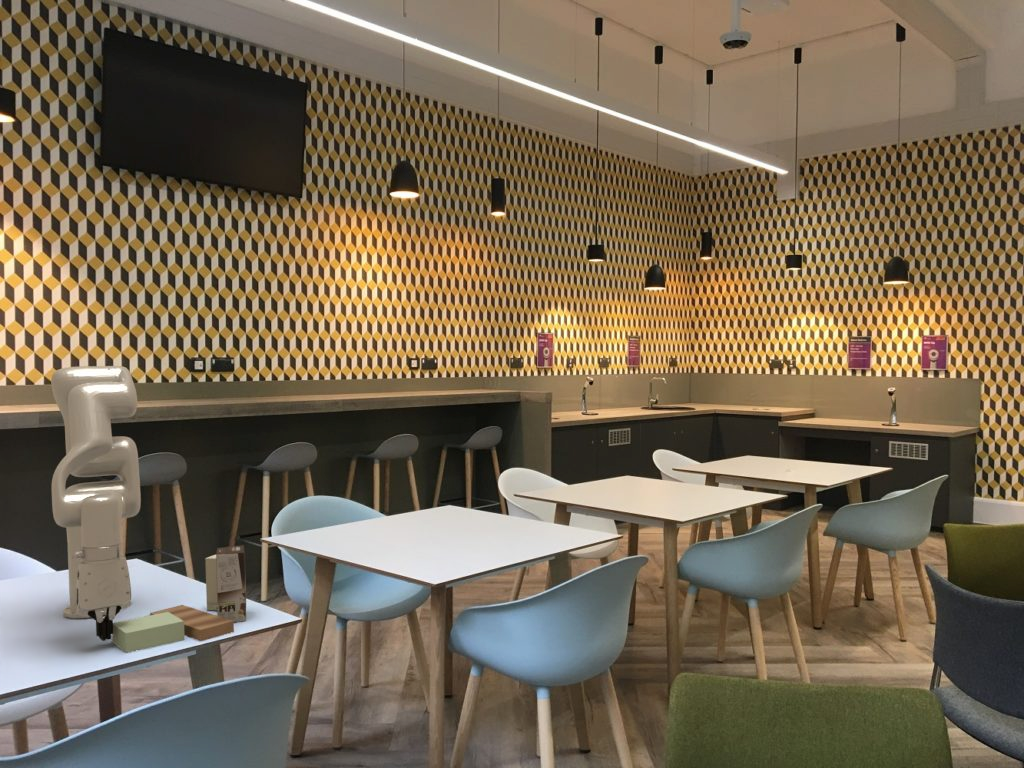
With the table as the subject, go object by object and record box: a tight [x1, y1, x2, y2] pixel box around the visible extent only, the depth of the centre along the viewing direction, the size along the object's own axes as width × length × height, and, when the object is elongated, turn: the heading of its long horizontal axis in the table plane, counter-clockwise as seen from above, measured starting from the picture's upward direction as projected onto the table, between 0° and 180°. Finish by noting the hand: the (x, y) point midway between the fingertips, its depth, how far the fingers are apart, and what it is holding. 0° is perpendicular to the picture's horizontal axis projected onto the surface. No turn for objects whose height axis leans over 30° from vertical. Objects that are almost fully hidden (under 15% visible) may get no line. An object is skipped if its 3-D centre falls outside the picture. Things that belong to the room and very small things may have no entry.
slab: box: [111, 612, 186, 654], centre depth 189 cm, size 10×12×4 cm
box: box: [204, 554, 218, 611], centre depth 213 cm, size 5×4×13 cm
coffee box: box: [215, 545, 247, 623], centre depth 205 cm, size 9×6×16 cm
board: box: [149, 604, 235, 642], centre depth 198 cm, size 22×8×3 cm, turn 50°
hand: (105, 638), depth 186 cm, fingers closed
